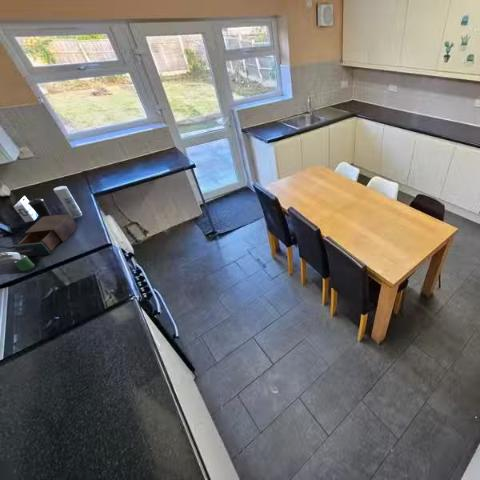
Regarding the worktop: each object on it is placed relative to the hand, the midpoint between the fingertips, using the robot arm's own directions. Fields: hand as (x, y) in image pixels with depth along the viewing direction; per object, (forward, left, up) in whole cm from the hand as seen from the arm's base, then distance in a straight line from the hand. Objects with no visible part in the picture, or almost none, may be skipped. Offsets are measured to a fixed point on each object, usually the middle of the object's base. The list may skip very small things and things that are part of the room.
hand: (1, 264), depth 124 cm
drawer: (-6, +27, -13) cm, 31 cm away
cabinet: (-6, +41, -14) cm, 44 cm away
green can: (-4, +11, -14) cm, 18 cm away
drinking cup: (-22, +61, -14) cm, 67 cm away
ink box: (-34, +65, -14) cm, 75 cm away
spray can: (-6, +63, -14) cm, 65 cm away
